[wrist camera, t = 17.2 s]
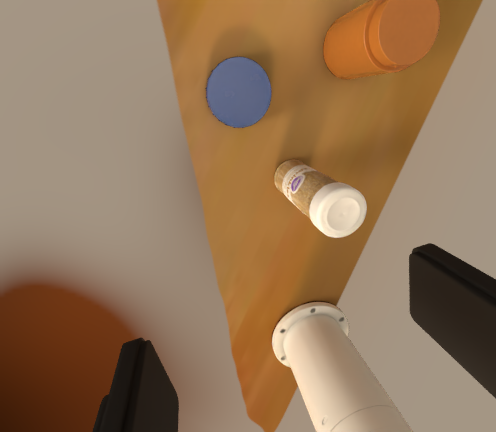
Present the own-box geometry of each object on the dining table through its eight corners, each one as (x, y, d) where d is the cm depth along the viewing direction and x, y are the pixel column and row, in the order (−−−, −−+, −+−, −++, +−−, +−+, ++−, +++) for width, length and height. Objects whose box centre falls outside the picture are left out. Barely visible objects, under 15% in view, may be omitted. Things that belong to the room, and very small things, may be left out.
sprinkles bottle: (279, 155, 35) (329, 182, 23) (312, 163, 36) (377, 193, 24) (268, 190, 36) (310, 235, 24) (301, 197, 37) (357, 243, 25)
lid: (214, 48, 30) (215, 45, 28) (275, 71, 31) (280, 69, 30) (199, 116, 32) (199, 117, 30) (257, 134, 34) (261, 135, 32)
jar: (373, 77, 34) (436, 68, 25) (322, 80, 33) (370, 72, 24) (379, 13, 31) (451, -22, 23) (324, 14, 30) (378, -22, 22)
